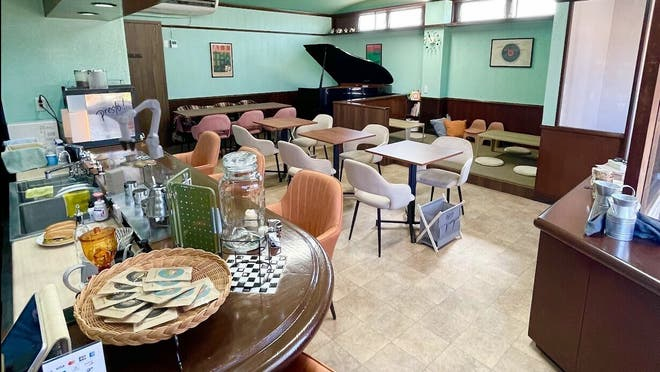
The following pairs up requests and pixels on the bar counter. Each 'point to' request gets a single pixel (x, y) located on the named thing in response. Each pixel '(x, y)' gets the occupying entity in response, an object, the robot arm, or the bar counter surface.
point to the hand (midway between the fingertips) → (129, 150)
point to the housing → (130, 158)
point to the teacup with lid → (104, 161)
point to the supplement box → (115, 180)
